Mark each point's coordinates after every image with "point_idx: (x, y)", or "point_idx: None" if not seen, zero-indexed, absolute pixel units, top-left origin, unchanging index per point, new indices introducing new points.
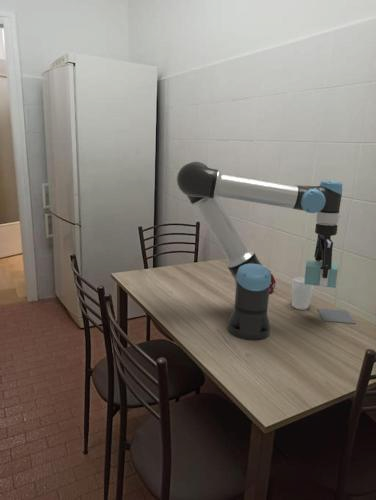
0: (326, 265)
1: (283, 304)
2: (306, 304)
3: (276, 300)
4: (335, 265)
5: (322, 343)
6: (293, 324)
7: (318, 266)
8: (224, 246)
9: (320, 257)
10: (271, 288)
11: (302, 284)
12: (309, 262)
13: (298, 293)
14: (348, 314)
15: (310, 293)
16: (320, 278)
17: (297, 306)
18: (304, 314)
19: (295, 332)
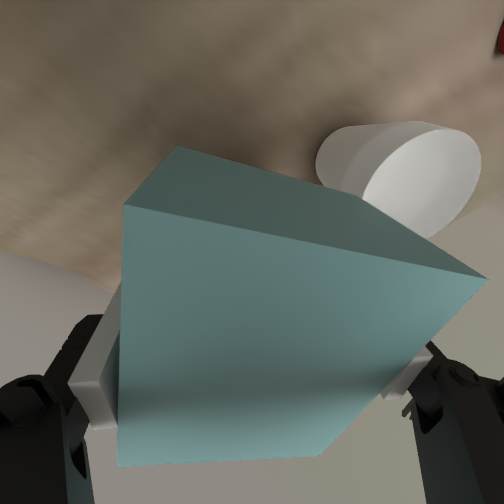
0: (245, 416)
1: (370, 87)
2: (321, 181)
3: (417, 59)
4: (254, 454)
5: (36, 165)
6: (166, 83)
7: (177, 365)
8: None
9: (428, 432)
10: None
11: (365, 176)
12: (372, 296)
13: (347, 149)
14: None
15: None
16: (116, 292)
17: (325, 143)
18: (274, 160)
19: (83, 70)
